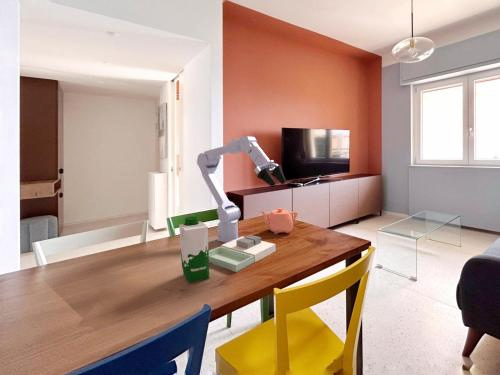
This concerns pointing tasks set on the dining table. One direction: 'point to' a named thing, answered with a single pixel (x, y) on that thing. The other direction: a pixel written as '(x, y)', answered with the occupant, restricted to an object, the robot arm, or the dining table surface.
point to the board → (253, 249)
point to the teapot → (280, 220)
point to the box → (230, 259)
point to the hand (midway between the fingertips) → (279, 184)
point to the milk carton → (194, 249)
